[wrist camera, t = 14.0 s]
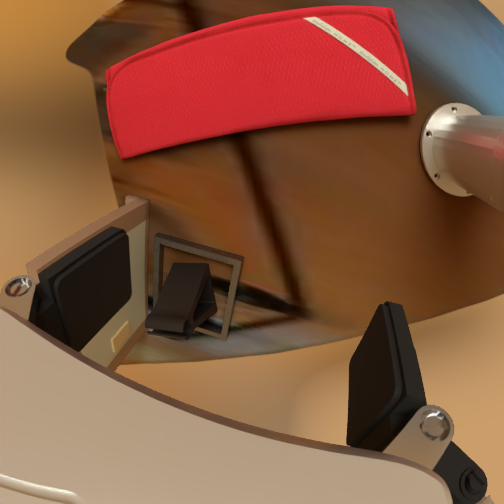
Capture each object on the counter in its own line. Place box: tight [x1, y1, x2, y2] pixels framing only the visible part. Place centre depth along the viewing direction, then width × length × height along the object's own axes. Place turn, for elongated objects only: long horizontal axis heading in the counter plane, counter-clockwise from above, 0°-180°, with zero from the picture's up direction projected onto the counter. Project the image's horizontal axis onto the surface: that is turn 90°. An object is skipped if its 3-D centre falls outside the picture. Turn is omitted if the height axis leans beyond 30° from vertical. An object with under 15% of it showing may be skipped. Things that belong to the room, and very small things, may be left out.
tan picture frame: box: [26, 195, 150, 371], centre depth 38 cm, size 4×26×23 cm, turn 169°
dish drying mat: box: [106, 6, 417, 159], centre depth 31 cm, size 16×41×4 cm, turn 100°
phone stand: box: [145, 263, 217, 340], centre depth 42 cm, size 9×6×12 cm, turn 6°
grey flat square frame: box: [153, 233, 244, 340], centre depth 47 cm, size 14×16×2 cm
